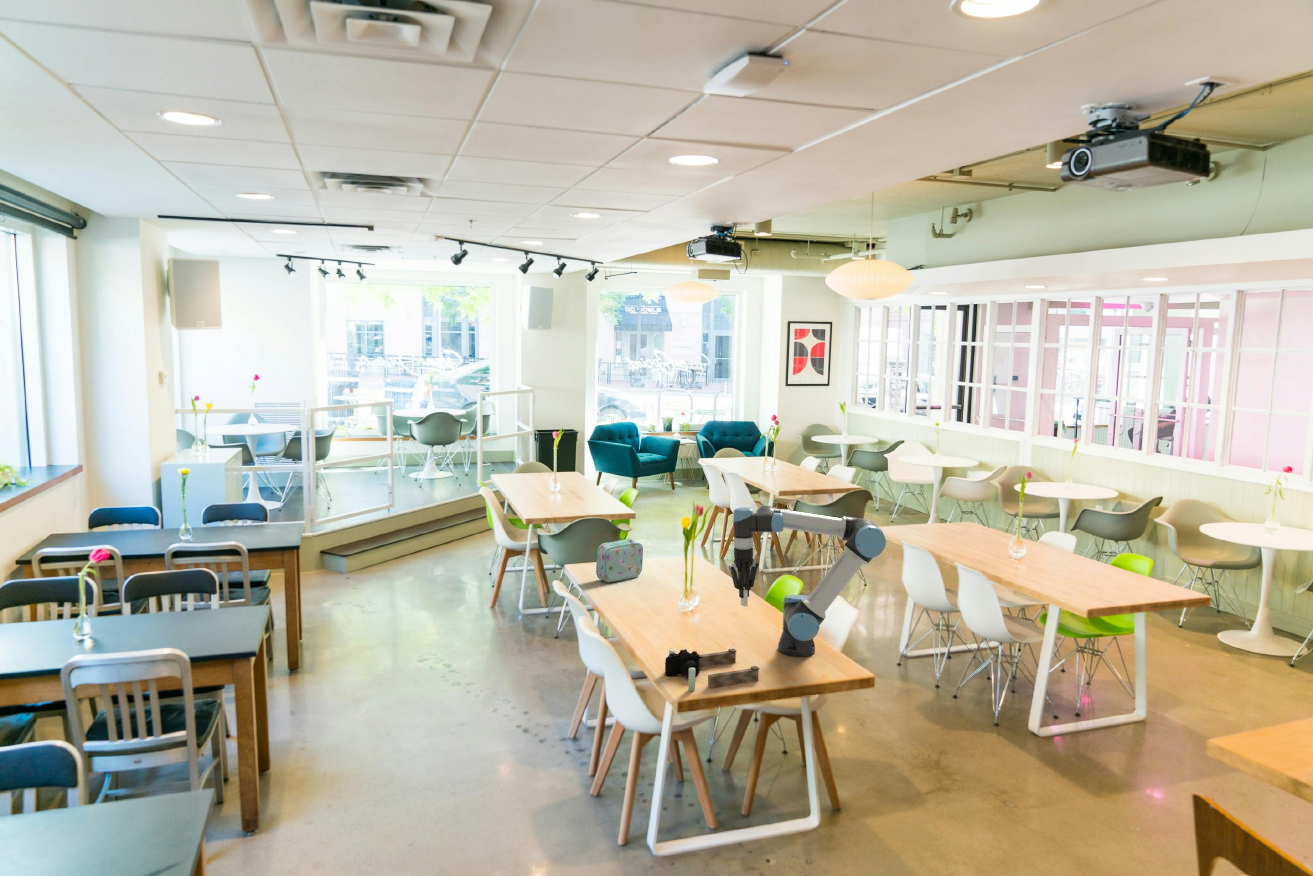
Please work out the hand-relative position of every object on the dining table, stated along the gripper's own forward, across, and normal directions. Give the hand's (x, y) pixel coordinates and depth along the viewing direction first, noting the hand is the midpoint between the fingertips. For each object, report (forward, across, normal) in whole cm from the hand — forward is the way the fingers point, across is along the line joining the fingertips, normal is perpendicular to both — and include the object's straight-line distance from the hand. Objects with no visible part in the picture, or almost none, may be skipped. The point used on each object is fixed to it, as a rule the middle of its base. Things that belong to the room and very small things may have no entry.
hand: (744, 605), depth 328 cm
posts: (+22, +32, +7) cm, 39 cm away
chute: (+23, +15, +8) cm, 28 cm away
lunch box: (+21, +2, -128) cm, 129 cm away
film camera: (+22, +28, +3) cm, 36 cm away
